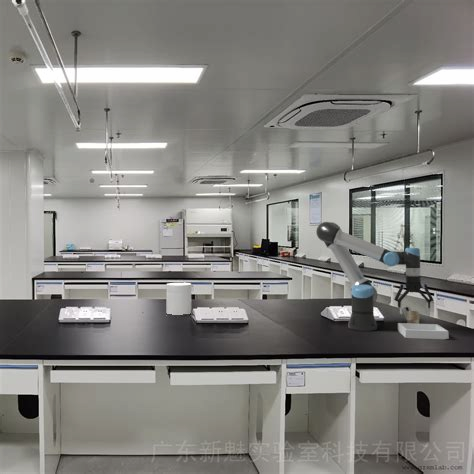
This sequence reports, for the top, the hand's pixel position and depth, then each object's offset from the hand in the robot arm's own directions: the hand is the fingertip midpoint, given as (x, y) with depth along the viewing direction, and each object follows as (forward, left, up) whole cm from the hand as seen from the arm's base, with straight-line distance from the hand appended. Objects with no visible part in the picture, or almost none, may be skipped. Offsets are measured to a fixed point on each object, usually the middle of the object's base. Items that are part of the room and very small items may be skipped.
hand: (413, 313), depth 238 cm
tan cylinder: (0, 0, -8) cm, 8 cm away
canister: (-140, +19, -8) cm, 142 cm away
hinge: (+3, +20, -8) cm, 21 cm away
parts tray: (0, -18, -8) cm, 19 cm away
